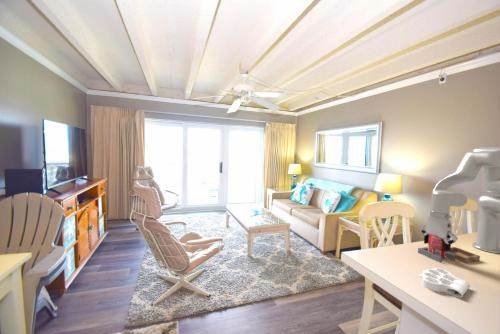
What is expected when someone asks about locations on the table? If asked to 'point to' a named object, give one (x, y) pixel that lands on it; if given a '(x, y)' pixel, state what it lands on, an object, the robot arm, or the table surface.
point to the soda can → (436, 245)
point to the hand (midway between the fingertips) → (436, 247)
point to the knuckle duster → (444, 282)
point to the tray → (463, 255)
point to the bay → (433, 256)
